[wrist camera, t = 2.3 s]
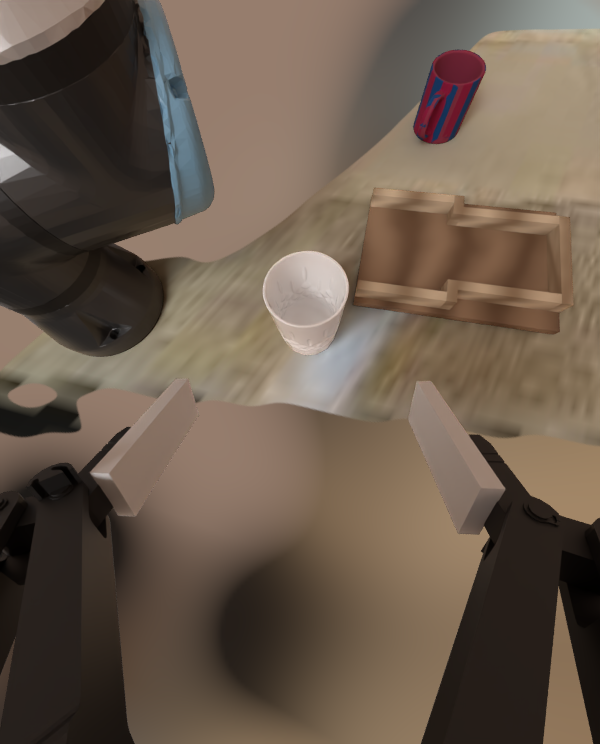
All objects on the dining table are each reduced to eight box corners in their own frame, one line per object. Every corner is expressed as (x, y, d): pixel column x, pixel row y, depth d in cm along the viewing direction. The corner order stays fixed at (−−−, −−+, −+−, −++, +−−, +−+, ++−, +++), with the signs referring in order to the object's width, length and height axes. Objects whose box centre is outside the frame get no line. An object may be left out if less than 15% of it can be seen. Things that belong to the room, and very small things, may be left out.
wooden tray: (353, 304, 34) (356, 294, 31) (370, 200, 37) (374, 182, 35) (553, 334, 31) (574, 325, 28) (550, 217, 35) (569, 200, 32)
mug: (467, 124, 39) (497, 62, 33) (426, 164, 38) (448, 108, 32) (431, 105, 41) (452, 42, 34) (390, 143, 40) (404, 85, 33)
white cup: (269, 347, 33) (248, 310, 23) (293, 295, 34) (283, 240, 25) (326, 369, 32) (330, 340, 22) (348, 314, 33) (361, 264, 24)
